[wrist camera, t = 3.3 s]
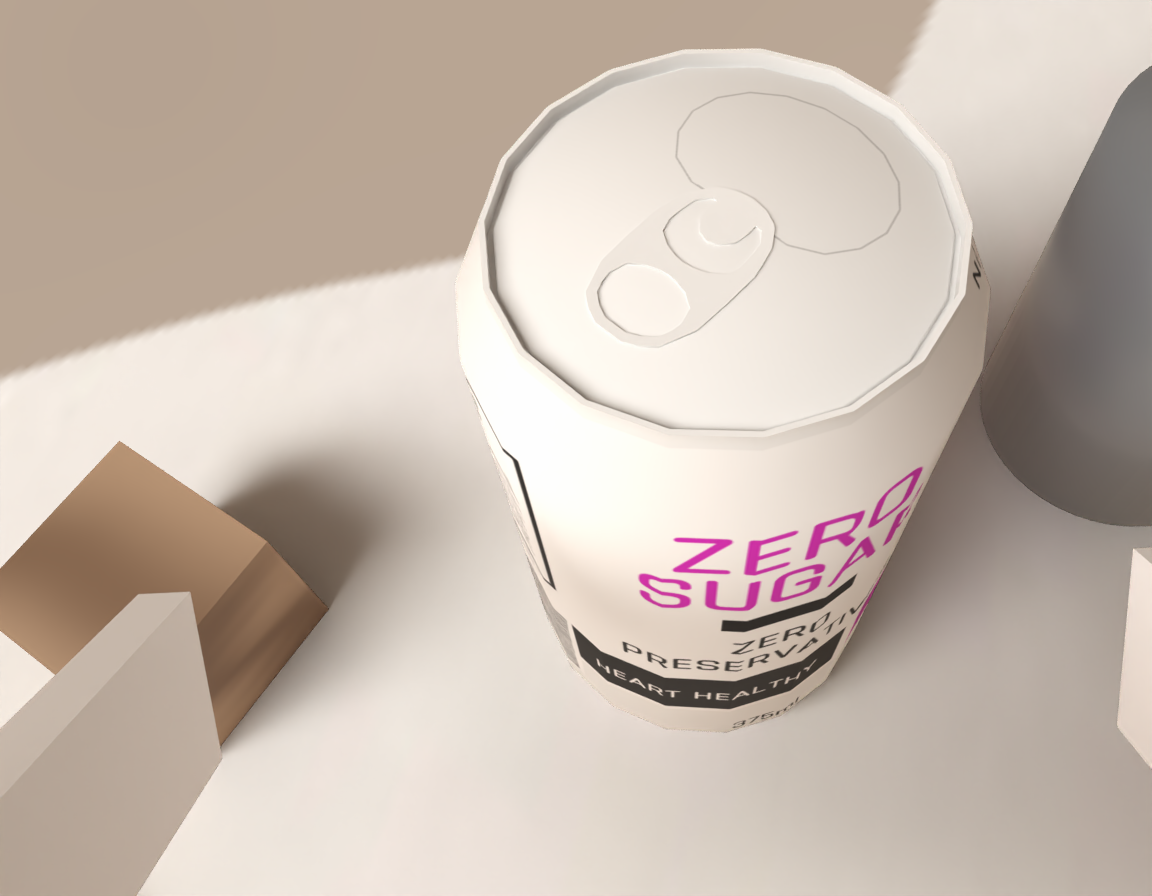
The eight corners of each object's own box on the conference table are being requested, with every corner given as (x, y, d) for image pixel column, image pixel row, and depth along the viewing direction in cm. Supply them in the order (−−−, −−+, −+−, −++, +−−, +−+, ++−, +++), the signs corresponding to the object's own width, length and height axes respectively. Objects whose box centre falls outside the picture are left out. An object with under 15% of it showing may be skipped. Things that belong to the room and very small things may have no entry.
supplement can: (684, 397, 31) (690, -51, 18) (919, 576, 28) (1139, 198, 15) (484, 591, 29) (322, 245, 16) (715, 809, 26) (759, 611, 12)
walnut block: (199, 520, 31) (119, 441, 26) (329, 609, 29) (267, 541, 25) (75, 663, 29) (-33, 603, 25) (206, 766, 27) (115, 723, 23)
